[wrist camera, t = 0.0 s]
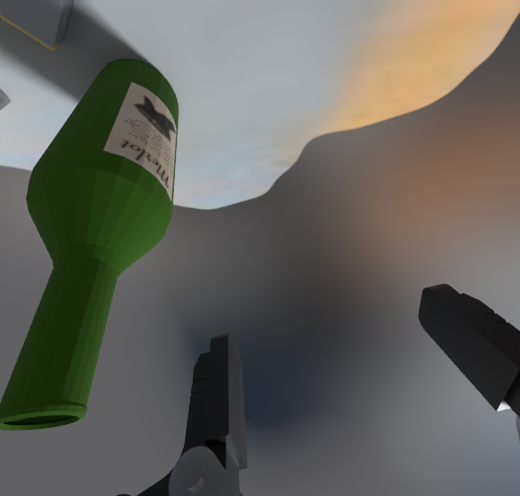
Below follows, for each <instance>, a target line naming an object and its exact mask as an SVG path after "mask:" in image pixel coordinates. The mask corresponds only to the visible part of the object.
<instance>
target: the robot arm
mask: <svg viewBox="0 0 520 496" xmlns="http://www.w3.org/2000/svg"><path fill="white" fill-rule="evenodd" d="M419 321H420V323H421V325H422V327H423V328H424V330H425V331H426V332H427V333H428V334H429V335H430V337H431V338H432V339H433V340H434V341H435V342H436V343H437V344H438V346H439V347H440V348H441V349H442V350H443V351H444V352H445V354H446V355H447V356H448V357H449V358H450V359H451V360H452V361H453V363H454V364H455V365H456V366H457V367H458V368H459V369H460V371H461V372H462V373H463V374H464V375H465V376H466V377H467V379H468V380H469V381H470V382H471V383H472V384H473V385H474V386H475V388H476V389H477V390H478V391H479V392H480V393H481V394H482V395H483V397H484V398H485V399H486V400H487V401H488V402H489V403H490V405H491V406H492V407H493V408H494V409H495V410H496V411H500V410H505V409H509V408H511V409H512V410H513V411H514V412H515V413H516V414H517V416H516V425H517V430H518V435H519V440H520V331H519V330H518V329H516V328H515V327H514V326H512V325H511V324H510V323H507V322H506V321H505V319H503V318H502V317H501V316H499V315H498V314H495V313H494V311H493V310H492V309H490V308H489V307H488V306H486V305H485V304H484V303H483V302H481V301H480V300H477V299H475V298H473V297H471V296H469V295H467V294H464V293H463V294H459V293H458V292H457V291H456V290H455V289H453V288H452V287H451V286H449V285H448V284H440V285H435V286H431V287H427V288H425V289H423V291H422V297H421V303H420V308H419ZM245 468H247V452H246V433H245V415H244V397H243V380H242V367H241V361H240V357H239V354H238V352H237V349H236V346H235V344H234V341H233V339H232V336H231V334H230V333H227V334H223V335H219V336H215V337H212V338H211V345H210V352H208V353H203V354H201V355H200V357H199V359H198V361H197V363H196V365H195V367H194V373H193V384H192V389H191V397H190V405H189V413H188V421H187V428H186V436H185V444H184V448H183V451H182V454H181V456H180V458H179V460H178V461H177V463H176V465H175V466H174V468H173V469H172V470H171V471H170V473H168V474H167V475H166V476H165V477H164V478H163V479H162V480H160V481H158V482H157V483H155V484H154V485H153V486H151V487H149V488H148V489H146V490H145V491H143V492H142V493H140V494H139V495H137V496H243V495H242V493H241V492H240V490H239V470H241V469H245ZM117 496H130V495H127V494H121V495H117Z"/></svg>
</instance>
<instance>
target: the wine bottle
mask: <svg viewBox="0 0 520 496" xmlns="http://www.w3.org/2000/svg"><path fill="white" fill-rule="evenodd" d="M178 115H179V113H178V102H177V98H176V95H175V93H174V91H173V89H172V87H171V85H170V84H169V82H168V81H167V80H166V79H165V78H164V76H163V75H162V74H161V73H159V72H158V71H157V70H155V69H154V68H153V67H152V66H149V65H147V64H145V63H143V62H141V61H137V60H132V59H120V60H116V61H113V62H111V63H109V64H107V65H106V67H105V68H104V69H103V70H102V71H101V72H100V73H99V75H98V76H97V78H96V79H95V81H94V82H93V83H92V85H91V86H90V88H89V89H88V91H87V92H86V93H85V95H84V96H83V98H82V99H81V101H80V102H79V104H78V105H77V106H76V108H75V109H74V111H73V112H72V114H71V115H70V116H69V118H68V119H67V121H66V122H65V124H64V125H63V126H62V128H61V129H60V131H59V132H58V134H57V135H56V137H55V138H54V139H53V141H52V142H51V144H50V145H49V147H48V148H47V149H46V151H45V152H44V154H43V155H42V157H41V158H40V159H39V161H38V162H37V164H36V165H35V167H34V168H33V171H32V174H31V177H30V181H29V185H28V192H27V197H26V200H27V205H28V211H29V213H30V215H31V217H32V219H33V221H34V224H35V225H36V228H37V230H38V232H39V234H40V236H41V238H42V240H43V242H44V244H45V246H46V248H47V250H48V252H49V254H50V256H51V258H52V260H53V266H54V268H53V270H52V273H51V276H50V278H49V281H48V283H47V286H46V288H45V291H44V293H43V296H42V298H41V301H40V304H39V306H38V309H37V311H36V314H35V316H34V319H33V321H32V324H31V326H30V329H29V332H28V334H27V337H26V339H25V342H24V345H23V347H22V349H21V352H20V355H19V357H18V360H17V362H16V365H15V367H14V370H13V372H12V375H11V377H10V380H9V383H8V385H7V388H6V390H5V393H4V395H3V398H2V400H1V403H0V429H1V430H33V429H43V428H50V427H56V426H61V425H66V424H70V423H73V422H76V421H78V420H79V419H81V418H83V417H84V416H85V415H86V412H87V407H86V406H87V401H88V397H89V393H90V389H91V385H92V380H93V376H94V372H95V368H96V364H97V360H98V356H99V351H100V347H101V343H102V339H103V335H104V330H105V326H106V322H107V318H108V314H109V310H110V305H111V301H112V297H113V293H114V288H115V285H116V281H117V278H118V276H119V275H120V274H121V273H122V272H123V271H124V270H125V269H127V268H128V267H129V266H130V265H132V264H133V263H134V262H136V261H137V260H138V259H139V258H141V257H142V256H143V255H144V254H146V253H147V252H148V251H149V250H151V249H152V248H153V247H154V246H156V245H157V244H158V243H159V241H160V240H161V239H162V238H163V237H164V234H165V232H166V230H167V228H168V225H169V223H170V220H171V217H172V209H173V194H174V178H175V163H176V147H177V131H178Z"/></svg>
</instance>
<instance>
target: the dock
mask: <svg viewBox="0 0 520 496" xmlns="http://www.w3.org/2000/svg"><path fill="white" fill-rule="evenodd" d="M72 4H73V0H0V18H1V19H3V20H4V21H6V22H7V23H9V24H11V25H12V26H14V27H15V28H17V29H18V30H20V31H22V32H23V33H25V34H26V35H28V36H29V37H31V38H32V39H34V40H36V41H37V42H39V43H40V44H42V45H43V46H45V47H47V48H48V49H50V50H51V51H54V50H56V49H57V45H58V44H59V43H60V42H62V41H63V39H64V35H65V31H66V27H67V23H68V19H69V15H70V11H71V7H72Z"/></svg>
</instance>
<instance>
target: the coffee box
mask: <svg viewBox="0 0 520 496" xmlns="http://www.w3.org/2000/svg"><path fill="white" fill-rule="evenodd" d="M9 103H10V99H9V98H8V97H7V96H6V95H5V94H4V93H3V92H2V91H1V90H0V110H1V109H3V108H4V107H5V106H6V105H7V104H9Z"/></svg>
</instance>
